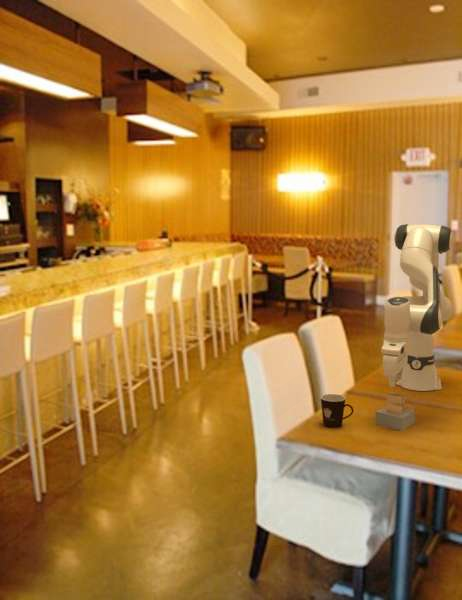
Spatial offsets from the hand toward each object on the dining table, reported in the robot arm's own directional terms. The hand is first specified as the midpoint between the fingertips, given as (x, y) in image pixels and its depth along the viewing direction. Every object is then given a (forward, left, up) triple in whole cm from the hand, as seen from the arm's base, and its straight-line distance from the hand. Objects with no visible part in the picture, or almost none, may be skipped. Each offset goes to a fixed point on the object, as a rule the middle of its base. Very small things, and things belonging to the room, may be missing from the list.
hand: (395, 382), depth 211 cm
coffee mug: (+12, -18, -15) cm, 26 cm away
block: (0, 0, -15) cm, 15 cm away
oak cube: (0, 0, -10) cm, 10 cm away
